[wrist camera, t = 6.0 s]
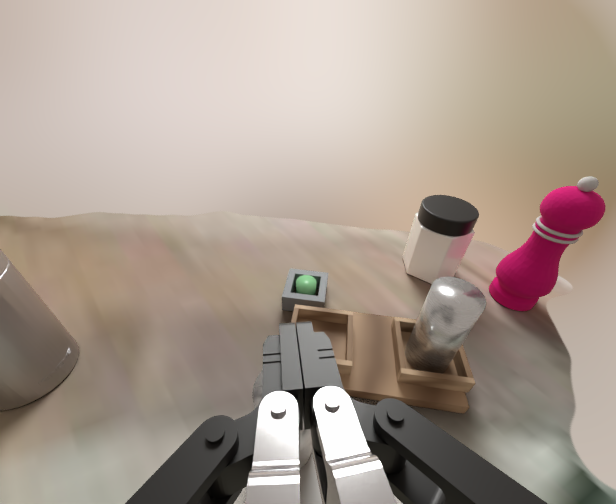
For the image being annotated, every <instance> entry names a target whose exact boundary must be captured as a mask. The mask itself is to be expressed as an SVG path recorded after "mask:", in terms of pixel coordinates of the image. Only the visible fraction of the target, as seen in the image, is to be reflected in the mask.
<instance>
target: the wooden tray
mask: <svg viewBox="0 0 616 504" xmlns="http://www.w3.org/2000/svg"><path fill="white" fill-rule="evenodd" d="M306 321H311V322H312V326H313V331H314V332H324V333H325V334H326V335H327V336H328V338H329V339H330V341H331V345H332V349H333V352H334V356H335V359H336V363H337V367H338V370H339V374H340V378H341V381H342V385H343V388H344V390H345V391H346V393H347V394H348V395H349V396H351V397H358V398H365V399H371V400H378V401H381V400H383V399H386V398H393V399H397V400H400V401H402V402H403V403H405V404H406V405H411V406H417V407H424V408H431V409H437V410H444V411H450V412H457V413H463V414H464V413H465V412H466V411H467V410H468V409H469V405H468V401H467V398H466V394H465V392H469V391H470V390H471V388H472V387H473V386H474V385H475V381H474V378H473V375H472V372H471V369H470V366H469V363H468V360H467V357H466V354H465V351H464V348H463V345H461V347H460V348H459V350H458V352H457V353H456V355H455V356H454V358H453V359H452V361H451V363H450V364H449V366H448V367H447V369H446V370H445V372H444V373H442V374H440V373H433V372H426V371H419V370H415V369H414V368H413V367H412V366H411V365H410V364H409V362H408V361H407V359H406V356H405V347H406V345H407V342H408V340H409V337H410V335H411V333H412V330H413V328H414V326H415V323H416V321H417V320H416V319H408V318H400V317H389V316H381V315H373V314H365V313H357V312H352V311H344V310H336V309H328V308H320V307H312V306H304V305H297V304H295V307H294V311H293V316H292V320H291V323H293V322H295V328H296V322H306Z"/></svg>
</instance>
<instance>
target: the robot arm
mask: <svg viewBox="0 0 616 504" xmlns="http://www.w3.org/2000/svg"><path fill="white" fill-rule="evenodd" d="M279 333H280V335H273V336H268V337H267V339H266V341H265V342H264V344H263V378H262V398H261V401H260V403H259V405H258V406H257V407H256V408H255V409H254V410H253V411H252V412H251V413H249V414H248V415H246V416H244V417H241V418H239V419H237V420H233V419H232V418H230V417H228V416H224V415H219V416H214V417H211V418H209V419H208V420H206V421H205V422H203V423H202V424H201V425H200V426H199V427H198V428H197V429H196V430H195V432H194V433H193V434H192V435H191V436H190V437H189V438H188V439H187V440H186V441H185V442H184V443H183V444H182V445H181V446H180V447H179V448H178V449H177V450H176V451H175V452H174V453H173V454H172V455H171V456H170V458H169V459H168V460H167V461H166V462H165V463H164V464H163V465H162V466H161V467H160V468H159V469H158V470H157V471H156V472H155V473H154V474H153V475H152V476H151V477H150V478H149V479H148V480H147V481H146V482H145V484H144V485H143V486H142V487H141V488H140V489H139V490H138V491H137V492H136V493H135V494H134V495H133V496H132V497H131V498H130V499H129V500H128V501H127V502H126V503H125V504H233V503H234V502H235V500H236V499H237V497H238V496H239V495H240V493H241V491H242V489H243V488H244V487H246V486H247V491H246V499H245V504H300V472H299V449H300V430H303V421H304V430H306V429H310V430H311V437H312V454H313V459H314V464H315V469H316V474H317V479H318V484H319V489H320V494H321V499H322V504H397V502H396V500H395V497H394V495H395V496H396V497H397V498H398V499H399V500H400V501H401V502H402V503H403V504H547V503H546V502H544V501H543V500H542V499H540V498H539V497H537V496H536V495H534V494H533V493H532V492H530V491H529V490H527V489H526V488H525V487H523V486H522V485H520V484H519V483H517V482H516V481H515V480H513V479H512V478H510V477H509V476H507V475H506V474H505V473H503V472H502V471H500V470H499V469H497V468H496V467H495V466H493V465H492V464H490V463H489V462H488V461H486V460H485V459H483V458H482V457H480V456H479V455H478V454H476V453H475V452H473V451H472V450H470V449H469V448H468V447H466V446H465V445H463V444H462V443H460V442H459V441H458V440H456V439H455V438H453V437H452V436H451V435H449V434H448V433H446V432H445V431H443V430H442V429H441V428H439V427H438V426H436V425H435V424H433V423H432V422H431V421H429V420H428V419H426V418H425V417H424V416H422V415H421V414H419V413H418V412H416V411H415V410H414V409H412V408H411V407H409V406H408V405H406V404H405V403H403V402H402V401H400V400H397V399H393V398H386V399H383V400H381V401H379V402H378V404H377V405H376V406H375V405H370V404H366V403H361V402H358V401H356V400H354V399H353V398H351V397H350V396H349V395H348V394H347V393H346V391H345V390H344V388H343V385H342V381H341V378H340V374H339V370H338V367H337V363H336V359H335V356H334V352H333V349H332V345H331V341H330V339H329V338H328V336H327V335H326V334H325V333H324V332H314V331H313V326H312V322H311V321H306V322H296V328H295V322H293V323H279ZM78 356H79V346H78V344H77V342H76V341H75V340H74V338H73V337H72V336H71V335H70V334H69V332H68V331H67V330H66V329H65V327H64V326H63V325H62V324H61V322H60V321H59V320H58V319H57V317H56V316H55V315H54V314H53V313H52V311H51V310H50V309H49V308H48V306H47V305H46V304H45V303H44V302H43V300H42V299H41V298H40V297H39V295H38V294H37V293H36V292H35V291H34V289H33V288H32V287H31V286H30V284H29V283H28V282H27V281H26V280H25V278H24V277H23V276H22V275H21V273H20V272H19V271H18V270H17V269H16V267H15V266H14V265H13V264H12V262H11V261H10V260H9V259H8V258H7V256H6V255H5V254H4V253H3V252H2V251H1V249H0V410H9V409H13V408H17V407H20V406H23V405H26V404H28V403H31V402H33V401H35V400H37V399H39V398H40V397H42V396H44V395H45V394H47V393H48V392H50V391H51V390H52V389H54V388H55V387H56V386H57V385H59V384H60V383H61V382H62V381H63V380H64V379H65V378H66V377H67V376H68V374H69V373H70V372H71V370H72V369H73V368H74V366H75V364H76V362H77V360H78ZM393 494H394V495H393Z"/></svg>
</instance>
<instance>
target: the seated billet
mask: <svg viewBox="0 0 616 504" xmlns="http://www.w3.org/2000/svg"><path fill="white" fill-rule="evenodd" d="M485 307H486V299H485V297H484V295H483V294H482V292H481V291H480V290H479V289H478V288H477V287H475V286H474V285H473V284H471V283H469V282H467V281H465V280H463V279H460V278H456V277H440V278H438V279H436V280H435V281H434V282H433V283H432V286H431V288H430V290H429V293H428V295H427V297H426V300H425V302H424V304H423V307H422V309H421V312H420V314H419V316H418V319H417V321H416V323H415V326H414V328H413V330H412V333H411V335H410V337H409V340H408V342H407V345H406V347H405V356H406V359H407V361H408V362H409V364H410V365H411V366H412V367H413V368H414V369H415V370H419V371H426V372H433V373H440V374H442V373H444V372H445V370H446V369H447V367H448V366H449V364H450V363H451V361H452V359H453V358H454V356H455V355H456V353H457V352H458V350H459V348H460V347H461V345H462V344H463V342H464V340H465V339H466V337H467V336H468V334H469V333H470V331H471V329H472V328H473V326H474V325H475V323H476V322H477V320H478V318H479V317H480V315H481V314H482V312H483V311H484V309H485Z"/></svg>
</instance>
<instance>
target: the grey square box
mask: <svg viewBox="0 0 616 504" xmlns="http://www.w3.org/2000/svg"><path fill="white" fill-rule="evenodd" d="M303 275H309V276H312V277H314V278H315V279H316V289H319V294H318V296H315V295H307V294H299V293H294V289H295V287H296V280H297V278H298V277H300V276H303ZM327 279H328V273H324V272H316V271H307V270H298V269H290V270H289V273H288V277H287V281H286V284H285V288H284V291H283V295H282V310H287V311H294V307H295V304H297V305H304V306H312V307H320V308H324V305H325V297H326V288H327Z"/></svg>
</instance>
